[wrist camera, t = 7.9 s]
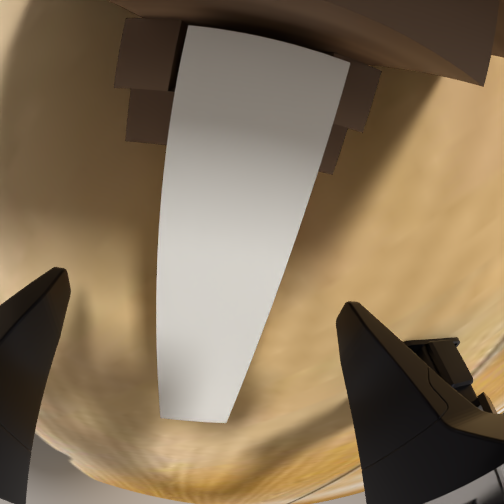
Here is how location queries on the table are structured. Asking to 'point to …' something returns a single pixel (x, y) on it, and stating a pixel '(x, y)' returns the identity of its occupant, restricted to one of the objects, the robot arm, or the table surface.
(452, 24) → the brown wooden block
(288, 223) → the bed rail
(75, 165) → the table surface
